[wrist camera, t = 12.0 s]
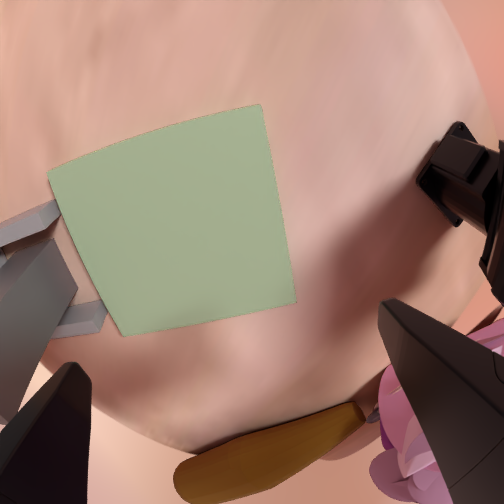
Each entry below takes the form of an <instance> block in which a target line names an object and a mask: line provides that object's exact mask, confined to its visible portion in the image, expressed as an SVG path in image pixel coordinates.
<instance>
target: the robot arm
mask: <svg viewBox="0 0 504 504" xmlns="http://www.w3.org/2000/svg"><path fill="white" fill-rule="evenodd" d="M459 127H461V128H460V129H459ZM499 149H500V153H499V152H496V151H494V150H491V149H489V148H486V147H485V146H483V145H480V144H478V143H477V141H476V140H475V138H474V137H473V135H472V134H471V132H470V131H469V129H468V128H467V127H466V125H465V124H464V123H463V122H460V121H457V122H455V124H454V125H453V127H452V128H451V130H450V131H449V133H448V134H447V135H446V137H445V138H444V140H443V141H442V143H441V144H440V146H439V147H438V149H437V150H436V151H435V153H434V154H433V156H432V157H431V159H430V160H429V162H428V163H427V165H426V166H425V167H424V169H423V170H422V172H421V173H420V174H419V176H418V177H417V179H416V184H417V186H418V187H419V188H420V189H421V190H422V191H423V192H424V193H425V194H426V195H427V197H428V198H429V199H430V200H431V201H432V202H433V203H434V204H435V206H436V207H437V208H438V209H439V210H440V211H441V212H442V214H443V215H444V216H445V217H446V218H447V219H448V221H449V222H450V223H451V224H452V225H453V226H454V227H458V226H460V224H461V223H462V222H463V220H465V221H466V222H468V223H469V224H470V225H472V226H473V227H475V228H476V229H477V230H479V231H480V232H482V233H483V234H484V235H486V236H487V238H486V242H485V246H484V250H483V254H482V257H481V258H480V261H479V266H480V268H481V269H482V271H483V273H484V274H485V276H486V278H487V280H488V281H489V283H490V285H491V287H492V289H491V292H492V293H493V295H494V296H495V297H496V298H497V299H498V301H499V302H500V303H501V304H502V306H503V307H504V140H499ZM423 179H424V182H423V184H422V180H423ZM456 220H457V221H456ZM378 329H379V332H380V335H381V337H382V340H383V342H384V345H385V348H386V350H387V353H388V356H389V358H390V361H391V364H392V366H393V369H394V372H395V374H396V376H397V378H398V381H399V383H400V385H401V387H402V389H403V391H404V393H405V395H406V397H407V399H408V401H409V403H410V405H411V407H412V409H413V411H414V413H415V415H416V418H417V420H418V422H419V424H420V426H421V428H422V430H423V433H424V435H425V437H426V439H427V441H428V444H429V446H430V448H431V450H432V453H433V455H434V457H435V460H436V462H437V464H438V467H439V469H440V471H441V474H442V476H443V479H444V481H445V484H446V486H447V488H448V492H449V494H450V497H451V499H452V502H453V504H504V357H503V356H502V355H500V354H498V353H496V352H494V351H493V352H492V350H491V349H489V348H487V347H485V346H483V345H482V344H480V343H478V342H476V341H474V340H473V339H471V338H469V337H467V336H465V335H463V334H462V333H460V332H458V331H456V330H454V329H452V328H451V327H449V326H447V325H445V324H443V323H441V322H439V321H437V320H436V319H434V318H432V317H430V316H428V315H426V314H424V313H422V312H421V311H419V310H417V309H415V308H413V307H411V306H409V305H407V304H405V303H404V302H402V301H400V300H398V299H396V298H389V299H385V300H382V301H380V303H379V310H378ZM91 396H92V383H91V380H90V378H89V376H88V375H87V374H86V373H85V371H84V370H83V369H82V367H81V366H80V365H79V364H78V363H77V362H67V363H65V364H63V365H62V366H61V367H60V368H59V370H58V371H57V372H56V373H55V374H54V375H53V376H52V377H51V378H50V379H49V380H48V381H47V382H46V383H45V384H44V385H43V386H42V387H41V388H40V389H39V391H37V392H36V393H35V395H34V396H33V397H32V398H31V399H30V400H29V401H28V402H27V403H26V404H25V405H24V406H23V408H21V410H20V411H19V412H18V413H17V414H16V415H15V416H14V417H13V418H12V419H11V420H10V422H9V423H8V424H7V425H6V426H5V427H4V428H3V429H2V431H1V433H0V504H87V484H88V459H89V445H90V433H91Z"/></svg>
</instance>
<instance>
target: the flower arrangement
mask: <svg viewBox="0 0 504 504" xmlns="http://www.w3.org/2000/svg"><path fill="white" fill-rule="evenodd" d="M467 337H469V338H471V339H473V340H474V341H476V342H478V343H480V344H482V345H483V346H485V347H487V348H489V349H491V350H492V352H493V351H494V352H496V353H498V354H500V355H502V356H503V357H504V318H502V319H499V320H497V321H495V322H494V323H493V324H491V325H489V326H487V327H485V328H482V329H480V330H478V331H476V332H474V333H472V334H469V335H467ZM378 420H380V430H381V440H382V444H383V447H384V448H385V450H386V451H385V452H383V453H381V454H379V455H378V456H377V457H376V458H374V459H373V461H372V462H371V465H370V468H369V472H370V476H371V478H372V480H373V482H374V483H375V485H376V486H377V487H378V489H379V490H381V491H382V492H383V493H384V494H386V495H387V496H389V497H391V498H393V499H396V500H399V501H404V502H416V503H419V504H453V502H452V499H451V497H450V494H449V492H448V488H447V486H446V484H445V481H444V479H443V476H442V474H441V471H440V469H439V467H438V464H437V462H436V460H435V457H434V455H433V453H432V450H431V448H430V446H429V444H428V441H427V439H426V437H425V435H424V433H423V430H422V428H421V426H420V424H419V422H418V420H417V418H416V415H415V413H414V411H413V409H412V407H411V405H410V403H409V401H408V399H407V397H406V395H405V393H404V391H403V389H402V387H401V385H400V383H399V381H398V378H397V376H396V374H395V372H394V369H393V366H392V364H391V365H389V366H388V367H387V368H386V370H385V372H384V374H383V376H382V378H381V382H380V387H379V396H378V403H377V404H376V405H375V407H374V408H373V412H372V413H371V414H370V415H369V416H368V418H367V420H366V422H367V423H373V422H376V421H378Z"/></svg>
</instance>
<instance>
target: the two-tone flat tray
mask: <svg viewBox="0 0 504 504" xmlns="http://www.w3.org/2000/svg"><path fill="white" fill-rule="evenodd" d="M46 173H47V176H48V179H49V182H50V184H51V187H52V190H53V193H54V195H55V198H56V200H55V199H54V200H51V201H49V202H47V203H44V204H42V205H40V206H37V207H35V208H33V209H30V210H28V211H26V212H24V213H21V214H19V215H17V216H15V217H13V218H10V219H8V220H6V221H4V222H2V223H0V268H1V267H2V266H3V265H4V264H5V263H6V262H7V259H6V256H5V254H4V252H3V250H2V248H1V247H2V246H4V245H6V244H9V243H11V242H14V241H16V240H19V239H21V238H24V237H26V236H29V235H31V234H34V233H37V232H39V231H42V230H44V229H46V228H47V227H48V226H49V225H50V224H51V223H52V222H53V221H54V220H55V219H57V218H58V217H59V216H60V215H61V213H62V216H63V218H64V221H65V223H66V225H67V228H68V230H69V232H70V235H71V237H72V239H73V241H74V244H75V246H76V248H77V250H78V252H79V255H80V257H81V259H82V261H83V263H84V265H85V267H86V269H87V271H88V273H89V275H90V277H91V279H92V281H93V283H94V285H95V287H96V289H97V291H98V293H99V295H100V297H101V298H102V300H103V302H104V304H105V306H106V307H105V306H104V304H103V302H102V300H99V301H94V302H89V303H84V304H79V305H74V306H69V307H67V308H66V310H65V312H64V314H63V316H62V318H61V319H60V321H59V323H58V325H57V327H56V329H55V331H54V333H53V335H52V337H51V339H57V338H64V337H71V336H78V335H85V334H91V333H98V332H100V330H101V327H102V325H103V322H104V320H105V317H106V315H107V312H108V311H109V313H110V315H111V317H112V318H113V320H114V322H115V323H116V325H117V327H118V329H119V330H120V332H121V334H122V335H123V337H126V336H133V335H139V334H145V333H151V332H157V331H162V330H168V329H174V328H179V327H185V326H190V325H195V324H200V323H205V322H211V321H215V320H220V319H225V318H230V317H235V316H240V315H244V314H249V313H253V312H258V311H262V310H267V309H271V308H276V307H280V306H284V305H288V304H293V303H297V301H296V295H295V288H294V282H293V276H292V269H291V263H290V257H289V251H288V245H287V239H286V233H285V228H284V222H283V216H282V211H281V205H280V200H279V194H278V189H277V183H276V178H275V173H274V167H273V162H272V157H271V152H270V147H269V142H268V137H267V132H266V127H265V122H264V117H263V113H262V108H261V105H260V104H257V105H252V106H247V107H242V108H238V109H233V110H228V111H224V112H220V113H215V114H211V115H207V116H203V117H199V118H195V119H192V120H188V121H184V122H181V123H177V124H174V125H170V126H167V127H163V128H160V129H157V130H154V131H150V132H147V133H144V134H141V135H138V136H135V137H132V138H129V139H126V140H124V141H121V142H118V143H115V144H112V145H110V146H107V147H104V148H102V149H99V150H96V151H94V152H91V153H89V154H86V155H84V156H81V157H79V158H77V159H74V160H72V161H69V162H67V163H65V164H62V165H60V166H58V167H56V168H54V169H52V170H50V171H48V172H46ZM56 201H57V203H58V206H59V208H60V211H61V213H60V211H59V208H58V206H57V203H56ZM106 308H107V309H108V311H107V309H106Z"/></svg>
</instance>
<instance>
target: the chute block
mask: <svg viewBox="0 0 504 504" xmlns="http://www.w3.org/2000/svg"><path fill="white" fill-rule="evenodd" d="M77 289H78V286H77V285H76V283H75V281H74V279H73V277H72V275H71V273H70V271H69V269H68V267H67V265H66V263H65V261H64V259H63V257H62V255H61V253H60V251H59V249H58V247H57V244H56V242H55V240H54V238H53V239H50V240H47V241H44V242H41V243H38V244H36V245H33V246H30V247H27V248H25V249H22V250H19V251H17V252H15V253H14V254H13V255H12V256H11V257H10V258H9V259H8V260H7V262H6V263H5V264H4V265H3V266H2V267H1V268H0V424H3V425H7V424H8V423H9V422H10V420H11V419H12V418H13V417H14V416H15V415H16V414H17V412H18V410H19V407H20V404H21V402H22V399H23V397H24V395H25V392H26V390H27V387H28V385H29V383H30V381H31V378H32V376H33V374H34V372H35V370H36V367H37V365H38V363H39V361H40V359H41V357H42V355H43V353H44V351H45V349H46V347H47V345H48V343H49V341H50V339H51V337H52V335H53V333H54V331H55V329H56V327H57V325H58V323H59V321H60V319H61V318H62V316H63V314H64V312H65V310H66V308H67V307H68V305H69V303H70V301H71V300H72V298H73V296H74V294H75V293H76V291H77Z"/></svg>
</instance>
